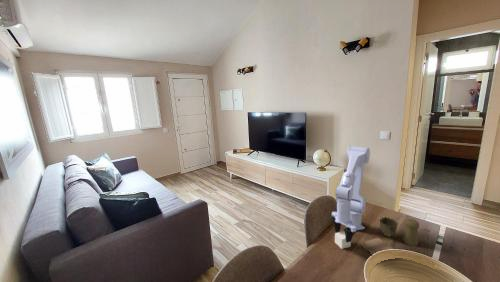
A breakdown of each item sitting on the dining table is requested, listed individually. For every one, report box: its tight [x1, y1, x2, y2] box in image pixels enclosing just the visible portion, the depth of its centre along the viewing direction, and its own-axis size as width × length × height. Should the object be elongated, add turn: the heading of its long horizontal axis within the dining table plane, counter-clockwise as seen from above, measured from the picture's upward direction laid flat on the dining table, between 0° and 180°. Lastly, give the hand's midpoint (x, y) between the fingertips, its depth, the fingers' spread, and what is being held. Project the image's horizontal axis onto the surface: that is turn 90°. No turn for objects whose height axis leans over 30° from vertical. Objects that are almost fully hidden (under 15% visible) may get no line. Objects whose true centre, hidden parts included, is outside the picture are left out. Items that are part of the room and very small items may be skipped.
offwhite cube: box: [334, 230, 352, 250], centre depth 102 cm, size 5×5×5 cm
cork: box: [402, 218, 420, 247], centre depth 100 cm, size 6×6×11 cm
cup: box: [379, 216, 399, 238], centre depth 106 cm, size 8×7×8 cm
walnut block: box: [362, 237, 394, 255], centre depth 96 cm, size 9×9×3 cm
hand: (342, 236), depth 101 cm, fingers open, 7 cm apart
